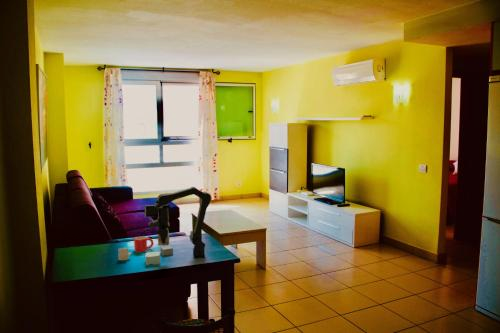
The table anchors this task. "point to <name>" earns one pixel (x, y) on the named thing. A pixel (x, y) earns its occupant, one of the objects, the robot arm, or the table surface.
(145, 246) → the mug
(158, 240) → the walnut cube
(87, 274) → the table surface
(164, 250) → the tan wooden block
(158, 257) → the plinth block
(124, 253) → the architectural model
